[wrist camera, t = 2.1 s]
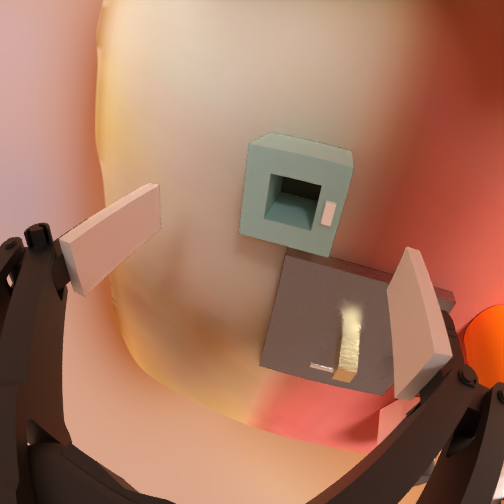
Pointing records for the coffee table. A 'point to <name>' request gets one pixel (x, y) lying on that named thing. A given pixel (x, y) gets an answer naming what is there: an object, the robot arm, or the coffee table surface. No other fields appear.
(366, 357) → the hub plate
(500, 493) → the shaker bottle
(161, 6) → the coffee table surface
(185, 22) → the coffee table surface
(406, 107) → the coffee table surface
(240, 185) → the coffee table surface
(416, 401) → the jar
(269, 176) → the teal open box
